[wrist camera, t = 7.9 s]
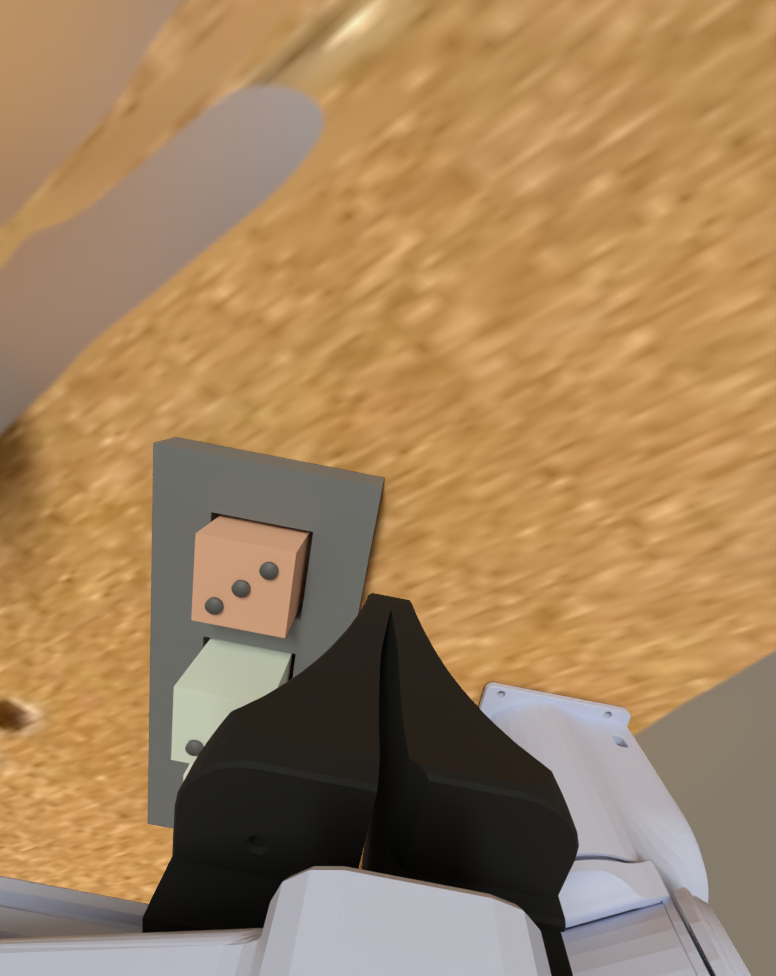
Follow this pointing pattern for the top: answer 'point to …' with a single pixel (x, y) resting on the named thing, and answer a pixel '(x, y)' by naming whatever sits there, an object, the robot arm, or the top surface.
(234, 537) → the key three
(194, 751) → the key two
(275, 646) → the keypad board
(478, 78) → the top surface
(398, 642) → the robot arm
